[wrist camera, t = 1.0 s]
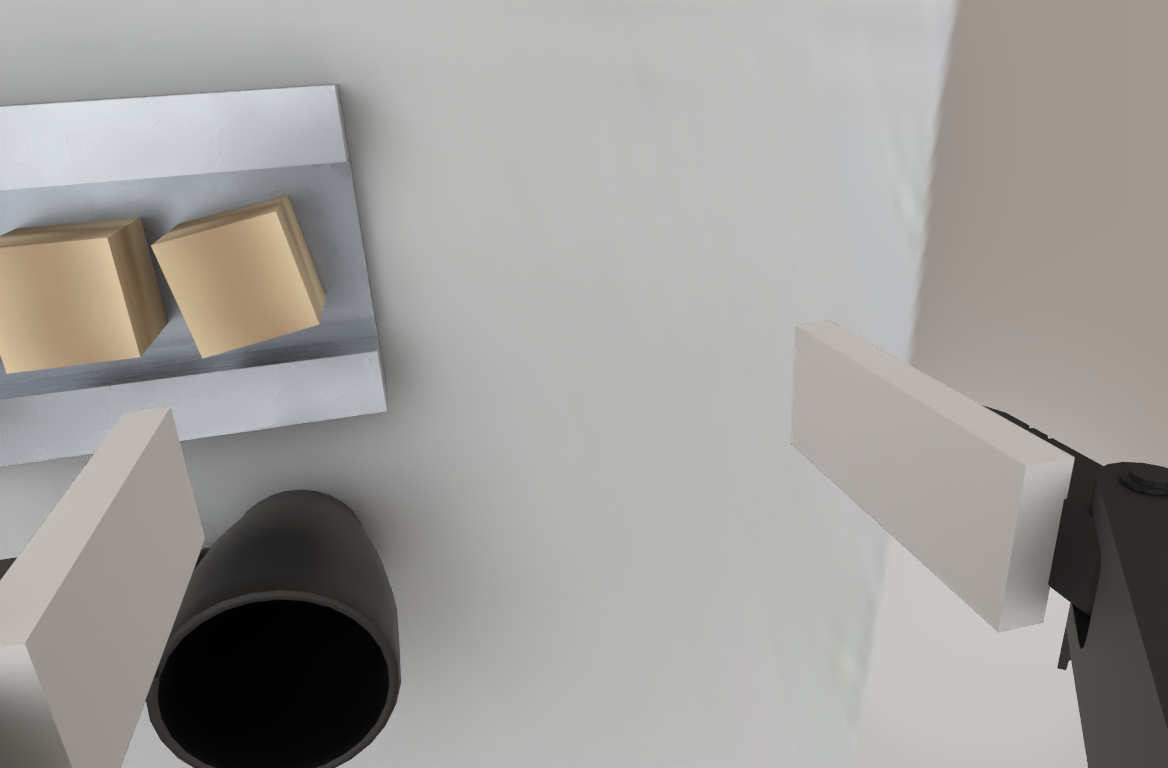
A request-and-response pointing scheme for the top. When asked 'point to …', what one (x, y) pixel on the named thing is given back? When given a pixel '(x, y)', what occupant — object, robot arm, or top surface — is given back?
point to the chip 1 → (77, 294)
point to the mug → (281, 643)
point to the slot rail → (163, 200)
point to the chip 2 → (242, 276)
